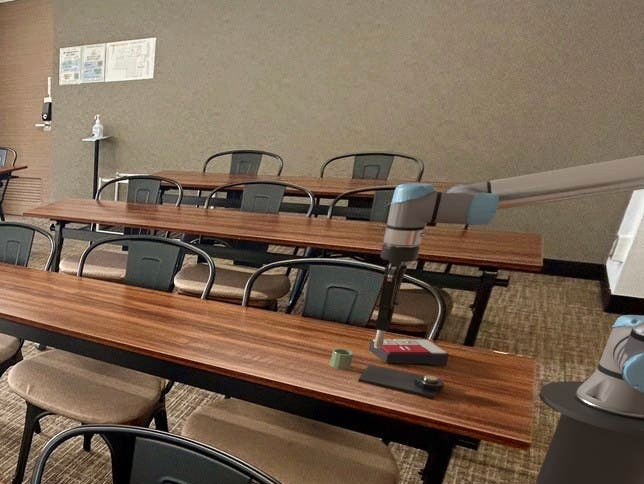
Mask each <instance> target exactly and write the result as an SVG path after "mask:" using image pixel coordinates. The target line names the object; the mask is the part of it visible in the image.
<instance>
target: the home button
mask: <svg viewBox="0 0 644 484" xmlns="http://www.w3.org/2000/svg"><path fill="white" fill-rule="evenodd" d="M423 376H424V378H423V381H424V382H426V383H430V384H436V383H437V380H438V379H439V378H438V377H437V376H434V375H427V374H426V375H423Z"/></svg>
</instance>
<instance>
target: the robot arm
mask: <svg viewBox="0 0 644 484" xmlns="http://www.w3.org/2000/svg"><path fill="white" fill-rule="evenodd" d="M640 190H644V154H642V155H635V156H630V157H624V158H619V159H618V158H617V159H612V160H606V161H601V162H600V161H599V162H594V163H589V164H581V165H577V166H571V167H565V168H560V169H559V168H557V169H553V170H547V171H542V172H535V173H529V174H525V175H524V174H523V175H518V176H517V175H516V176H512V177H506V178H500V179H493V180H490V181H482V182H476V183H459V184H455V185H454V186H452V187H451V188H449V189H448V190H447V191H446V192H438V191H435V186H434V184H432V183H426V182H425V183H423V182H407V183H401V184H399V185H398V186H396V187H395V189H394V191H393V196H392V199H391V203H390V207H389V212H388V217H387V223H386V226H385V230H384V235H383V239H382V242H383V243H384V244H382V245H381V250H380V256H379V257H380V259H381V260H384V261H388V262H389V263H388V264H387V265H385V267H384V271H383V272H384V275H383V279H382V280H383V281H382V286H381V292H380V297H379V303H378V304H376V306H375V308H378V313H377V317H376V321H375V326H374V331H375V330H376V331H377V330H381V331H386V332H388V331H389V329H391V324H392V320H393V315H394V311H395V307H396V306H399V304H400V302H398V300H399V298H398V297H399V293H400V289H401V285H402V282H403V280H404V277H405V273H406V271H407V268H408V266H407V265H406V264H405V263H411V262H415V261H417V260H418V258H419V257H418V256H419V253H420V246H419V245H421V244H422V239H423V238H425V237H426V236H427V234H426V232H424V229H425V228H426V224H427V223H429V224H449V225H469V226H486V225H490V224H491V223H493V221H494V220H495V217H496V213H497V211H499V210H506V209H514V208H519V207H520V208H521V207H528V206H534V205H541V204H548V203H555V202H562V201H570V200H576V199H582V198H583V199H584V198H589V197H598V196H605V195H613V194H619V193H627V192H632V191H640ZM611 328H612V329H611V332H610V334H609V337H608V340H607V342H606V344H605V347H604V350H603V351H602V352H603V353H602V355H601V358H600V360H599V363H598V365H597V367H596V370H595V371H594V372H593V373H592V374H591V375H590V376H588V377H587V378H586V379H585V380H584V381H583V382H584V383H583V384H582V385H581V386H580V387H579V388H578V390H577V392H576V394H575V398H576V399H577V400H578V401H579V402H580V403H582V404H584V405H586V406H588V407H590V408H593V409H595V410H598V411H601V412H604V413H608V414H611V415H615V416H620V417H624V418H630V419H637V420H644V315H639V314H626V315H621V316H619V317H618V318H617V319H616V320H615V322H614V324H613V325H612V326H611Z"/></svg>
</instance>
